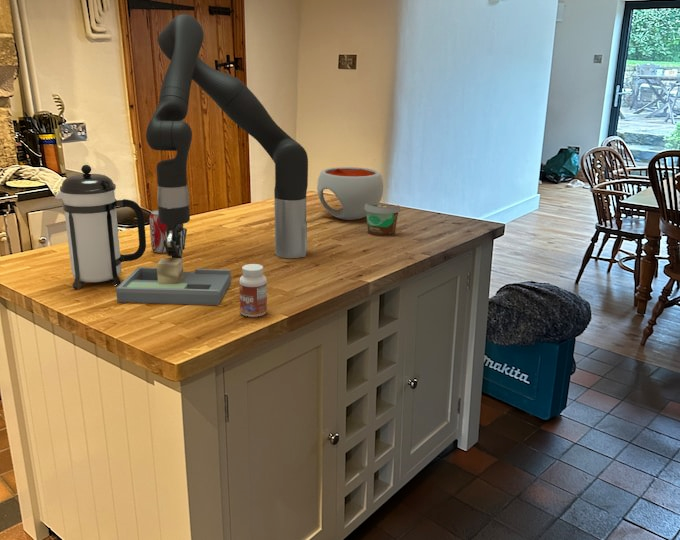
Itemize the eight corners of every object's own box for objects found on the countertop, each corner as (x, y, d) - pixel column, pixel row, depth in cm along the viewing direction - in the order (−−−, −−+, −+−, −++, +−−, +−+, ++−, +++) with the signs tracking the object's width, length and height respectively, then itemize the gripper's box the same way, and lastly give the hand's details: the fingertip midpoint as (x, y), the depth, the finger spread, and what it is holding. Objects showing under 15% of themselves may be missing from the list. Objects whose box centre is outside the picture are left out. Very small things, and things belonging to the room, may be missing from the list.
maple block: (183, 277, 162) (182, 258, 160) (178, 283, 157) (177, 264, 155) (164, 276, 162) (162, 257, 160) (158, 283, 157) (156, 263, 155)
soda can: (169, 255, 187) (166, 215, 183) (147, 253, 189) (144, 213, 185) (180, 248, 194) (177, 209, 190) (158, 246, 195) (155, 208, 191)
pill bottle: (234, 312, 147) (232, 267, 143) (254, 305, 151) (253, 260, 148) (252, 320, 143) (251, 273, 139) (272, 312, 147) (272, 266, 144)
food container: (358, 234, 213) (359, 205, 210) (364, 230, 219) (365, 201, 215) (393, 239, 209) (394, 209, 206) (399, 234, 214) (400, 205, 211)
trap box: (230, 282, 166) (230, 269, 165) (218, 305, 151) (217, 291, 150) (139, 279, 167) (138, 267, 165) (117, 302, 151) (116, 288, 150)
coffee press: (95, 296, 155) (82, 172, 145) (54, 283, 163) (39, 165, 153) (150, 277, 169) (141, 163, 159) (110, 266, 177) (99, 157, 167)
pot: (383, 226, 224) (385, 175, 219) (315, 224, 224) (315, 174, 219) (380, 210, 247) (382, 164, 241) (318, 209, 247) (318, 163, 242)
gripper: (166, 196, 165) (170, 260, 170) (150, 208, 152) (155, 277, 158) (195, 197, 164) (198, 261, 170) (181, 209, 152) (185, 278, 158)
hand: (177, 269), depth 164 cm, fingers closed
